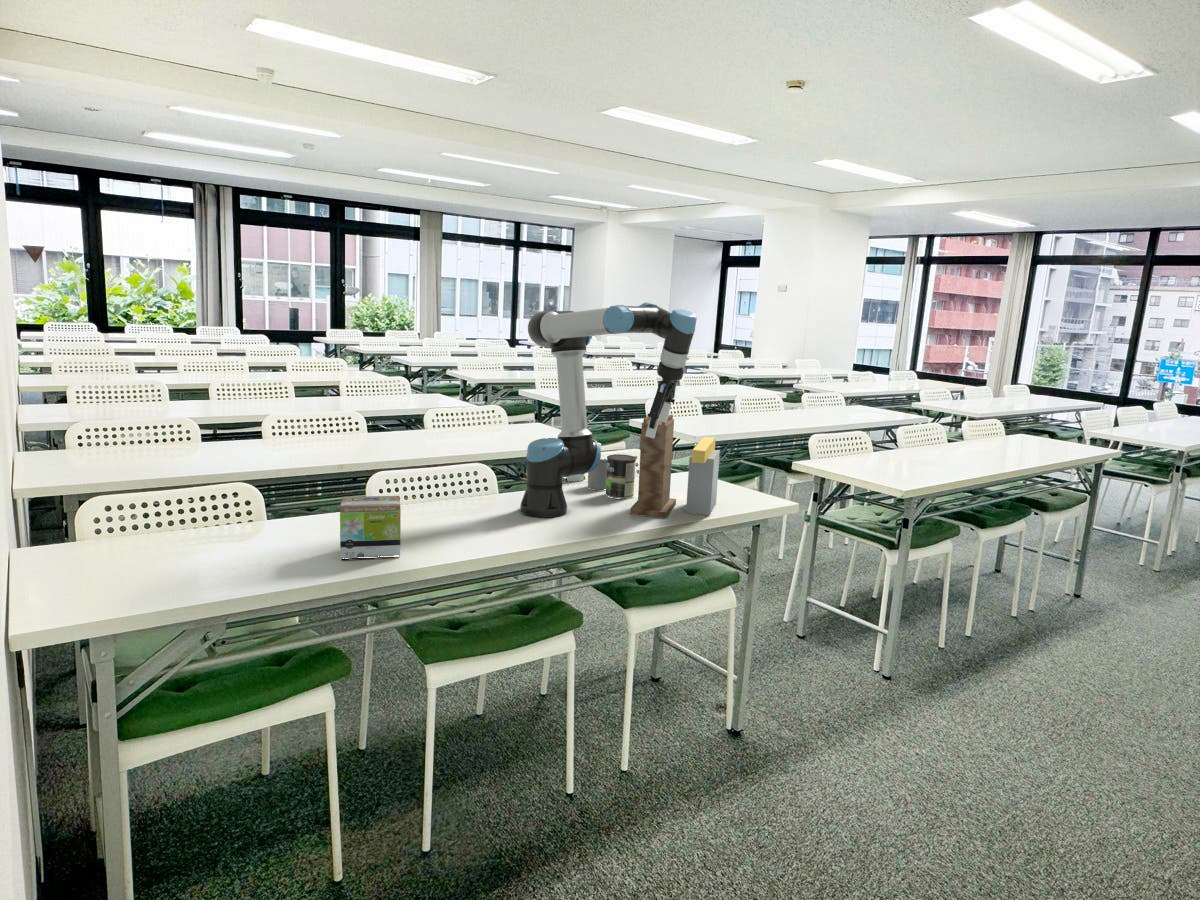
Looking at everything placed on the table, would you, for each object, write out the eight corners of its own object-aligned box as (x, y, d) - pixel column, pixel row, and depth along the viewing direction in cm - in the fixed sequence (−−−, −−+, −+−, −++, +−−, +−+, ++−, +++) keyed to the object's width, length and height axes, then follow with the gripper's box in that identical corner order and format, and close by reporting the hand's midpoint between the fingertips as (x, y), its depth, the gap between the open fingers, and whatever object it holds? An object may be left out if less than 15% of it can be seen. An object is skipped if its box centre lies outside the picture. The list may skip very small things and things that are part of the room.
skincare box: (584, 480, 286) (585, 454, 284) (569, 482, 283) (569, 455, 281) (573, 474, 295) (574, 449, 293) (558, 476, 292) (559, 449, 290)
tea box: (340, 562, 189) (338, 505, 186) (342, 549, 199) (340, 495, 196) (401, 558, 194) (400, 503, 191) (400, 546, 203) (399, 493, 200)
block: (691, 462, 235) (692, 449, 234) (703, 448, 260) (704, 436, 259) (704, 463, 234) (705, 451, 233) (714, 449, 258) (715, 437, 258)
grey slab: (685, 512, 247) (689, 457, 243) (693, 501, 262) (696, 448, 258) (710, 515, 245) (714, 459, 241) (716, 503, 260) (719, 450, 256)
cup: (611, 485, 279) (612, 459, 278) (609, 491, 271) (610, 464, 270) (589, 484, 280) (589, 458, 278) (586, 489, 272) (587, 463, 270)
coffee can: (610, 500, 259) (612, 460, 257) (601, 492, 269) (603, 454, 266) (638, 498, 262) (640, 459, 260) (628, 491, 272) (630, 453, 269)
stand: (629, 514, 243) (634, 418, 236) (641, 500, 260) (646, 411, 253) (666, 518, 239) (671, 421, 233) (675, 504, 256) (681, 414, 250)
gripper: (673, 379, 203) (656, 447, 212) (694, 356, 225) (678, 418, 234) (648, 371, 205) (632, 439, 214) (671, 349, 226) (655, 411, 236)
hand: (656, 429), depth 224 cm, fingers open, 13 cm apart
